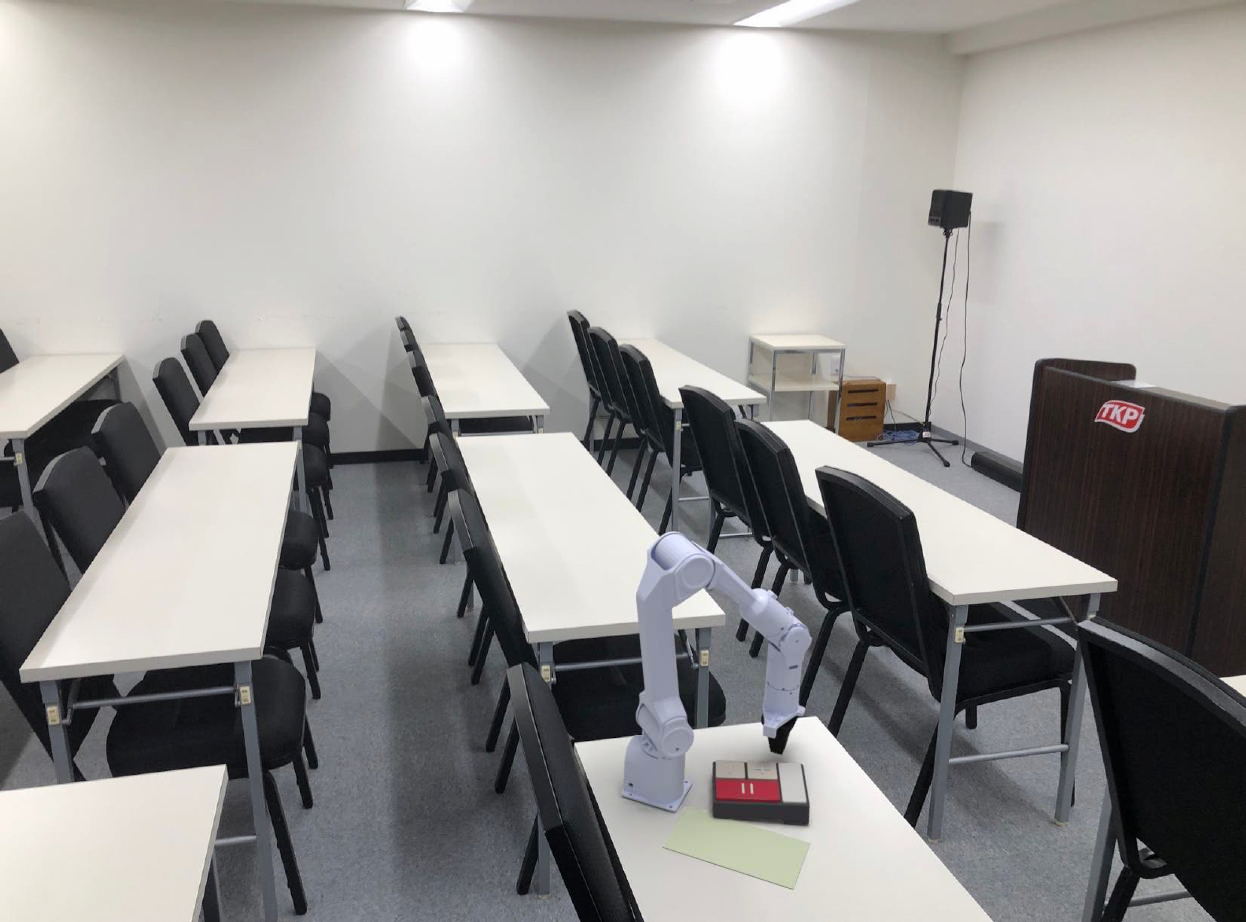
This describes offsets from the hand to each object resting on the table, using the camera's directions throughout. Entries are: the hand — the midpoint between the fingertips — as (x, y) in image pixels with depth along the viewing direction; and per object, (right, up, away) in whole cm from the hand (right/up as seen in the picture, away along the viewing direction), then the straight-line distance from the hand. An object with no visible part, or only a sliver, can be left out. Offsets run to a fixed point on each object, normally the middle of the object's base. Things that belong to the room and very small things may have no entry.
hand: (777, 751), depth 162 cm
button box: (-4, -5, -8) cm, 11 cm away
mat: (-9, -8, -19) cm, 22 cm away
